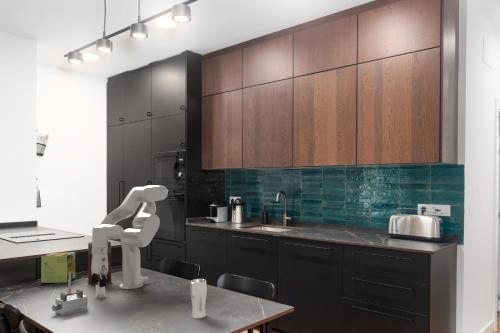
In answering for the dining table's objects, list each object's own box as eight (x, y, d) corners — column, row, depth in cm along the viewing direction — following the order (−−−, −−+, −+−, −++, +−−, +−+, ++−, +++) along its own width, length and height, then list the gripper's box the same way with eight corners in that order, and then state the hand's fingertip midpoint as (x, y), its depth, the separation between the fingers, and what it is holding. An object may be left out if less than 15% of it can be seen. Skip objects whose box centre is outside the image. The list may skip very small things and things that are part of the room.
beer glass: (191, 313, 168) (190, 278, 168) (207, 313, 168) (206, 278, 169) (190, 319, 161) (189, 283, 161) (206, 318, 161) (206, 282, 162)
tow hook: (71, 294, 201) (60, 299, 192) (72, 269, 202) (61, 272, 193) (86, 295, 200) (75, 299, 191) (87, 269, 201) (76, 273, 192)
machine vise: (80, 305, 181) (80, 287, 181) (87, 309, 175) (87, 290, 175) (49, 313, 171) (49, 293, 172) (56, 317, 166) (56, 297, 166)
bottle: (102, 295, 198) (102, 280, 198) (106, 296, 195) (106, 282, 195) (94, 296, 195) (94, 282, 195) (98, 298, 191) (97, 284, 192)
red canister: (98, 279, 229) (98, 232, 230) (111, 281, 223) (111, 233, 224) (85, 283, 221) (85, 234, 222) (98, 285, 215) (97, 235, 216)
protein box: (67, 282, 223) (67, 255, 224) (40, 282, 224) (40, 255, 224) (75, 277, 234) (75, 252, 234) (50, 278, 234) (50, 252, 234)
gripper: (114, 251, 191) (113, 286, 190) (99, 248, 204) (98, 281, 202) (99, 253, 186) (98, 289, 185) (85, 249, 198) (84, 283, 197)
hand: (98, 285), depth 194 cm, fingers open, 9 cm apart
